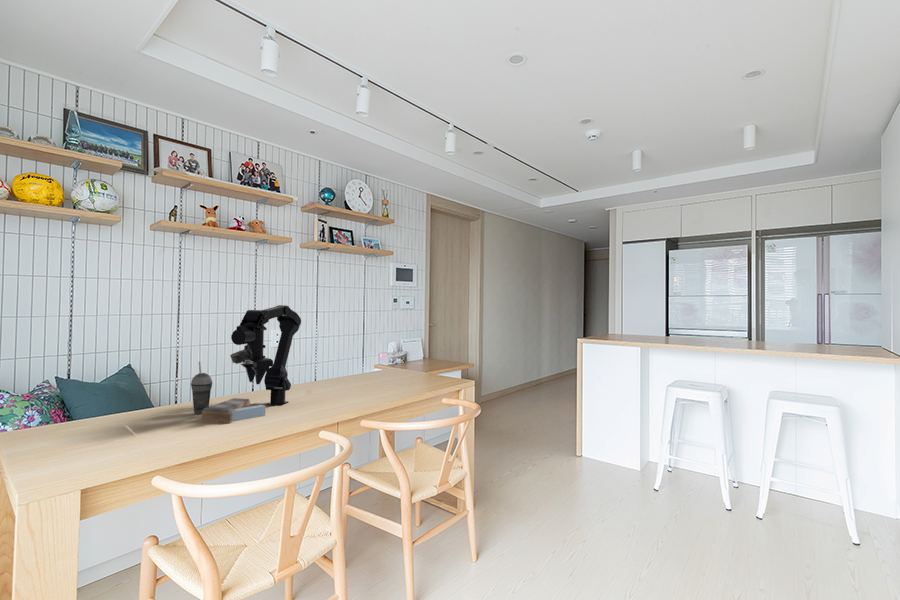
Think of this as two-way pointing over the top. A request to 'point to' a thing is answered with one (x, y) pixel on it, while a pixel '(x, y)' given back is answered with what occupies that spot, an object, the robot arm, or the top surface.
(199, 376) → the beverage cup
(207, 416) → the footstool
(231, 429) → the top surface
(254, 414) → the bar
